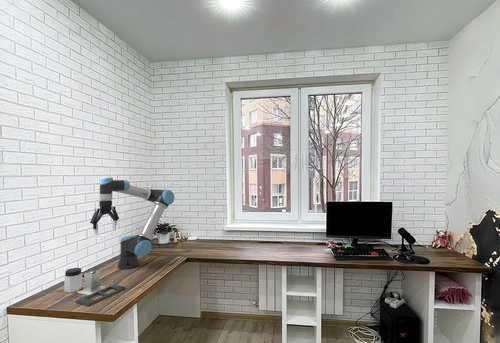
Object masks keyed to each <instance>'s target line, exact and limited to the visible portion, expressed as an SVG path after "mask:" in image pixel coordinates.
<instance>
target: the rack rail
mask: <svg viewBox="0 0 500 343" xmlns="http://www.w3.org/2000/svg"><path fill="white" fill-rule="evenodd" d="M105 287H106V288H104V289H102V290H100V291H97V292H95V293H93V294H90V295H85V296H84V297H81V298H79V299H76V300H75V304H79V305H82V306H86V307H91V306H92V305H95V304H97V303H98V302H100V301H103V300H105V299H107V298H109V297H112V296H114V295H116V294H118V293H120V292H122V291H124V290H126V286H122V285H117V284H112V285H109V286H105ZM109 290H114V291H111V292H109V293H108V292H107V293H106V291H109ZM95 296H101V297H99V298H96V299H91V298H93V297H95Z"/></svg>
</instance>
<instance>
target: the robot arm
mask: <svg viewBox="0 0 500 343" xmlns="http://www.w3.org/2000/svg"><path fill="white" fill-rule="evenodd" d="M113 192H115V193H120V194H125V195H128V196H133V197H137V198H142V199H143V200H144V201H148V202H151V203H153V204H154V206H153V208H152V209H151V211H150V214H149V215H148V217H147V219H146V221H145V223H144V224H143V227H142V229H141V231H140V233H138V234H133V235H131V234H130V235H125V236H122V237H121V239H120V256H119V259H118V262H117V269H119V270H130V269H134V268H137V267H139V266H140V261H139V257H145V256H147V255H148V254H149V253H150V252H151V251H152V248H153V245H152V241H153V239H152V236H153V235H154V232H155V231H156V229H157V226H158V225H159V223H160V221H161V218H162V216H163V213H164V211H165V210H166V209H168V208H169V205H172V204H173V203H174V201H175V194H174V192H173V191H172V190H170V189H160V188H158V189H155V188H154V189H153V188H142V187H139V186H135V185H131V183H130V180H127V179H114V178H113V177H111V176H107V177H106V176H104V177H103V176H102V177H100V179H99V203H98V204H99V205H98V206H99V208H98V207H97V208H94V213H93V215H92V217H91V220H90V221H89V222H90V224H92V230H93V235H99V223H98V222H99V221H100V219H101V218H102V217H103V216H104V215H108V216H109V217H110V218H111V219H112V221H111V231H116V230H117V223H118V222H117V221H119V220H120V216H119V214H118V212H117V209H116V208H117V207H116V206H113Z"/></svg>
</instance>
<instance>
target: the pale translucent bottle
mask: <svg viewBox="0 0 500 343" xmlns="http://www.w3.org/2000/svg"><path fill="white" fill-rule="evenodd" d="M83 276H84V277H83V289H84V291H88V292H93V291H95V290H98V289H100V286H101V271H98V270H95V269H93V270H89V272H86V273H84V274H83Z"/></svg>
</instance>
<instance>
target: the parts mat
mask: <svg viewBox="0 0 500 343" xmlns="http://www.w3.org/2000/svg"><path fill="white" fill-rule="evenodd" d="M106 287H107V286H103V285H100V289H98V290H95V291H93V292H88V291H84V288H83V289H82V290H81V289H80V290H79V291H76V294H81V295H84V296H88V295H90V294H93V293H95V292H97V291H100V290H102V289H104V288H106Z"/></svg>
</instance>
